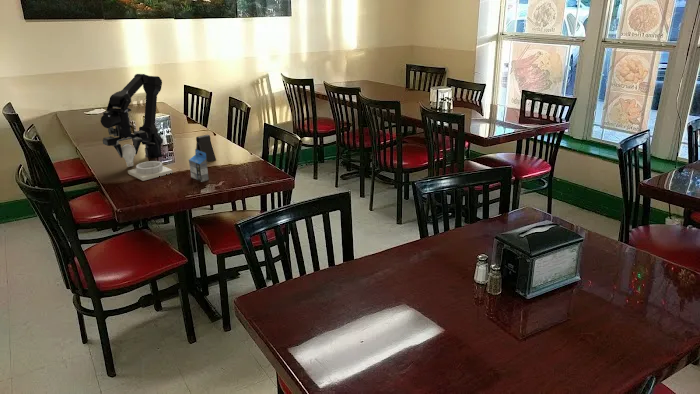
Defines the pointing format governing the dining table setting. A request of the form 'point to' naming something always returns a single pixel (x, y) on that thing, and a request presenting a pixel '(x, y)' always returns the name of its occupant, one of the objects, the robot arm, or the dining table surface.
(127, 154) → the light bulb
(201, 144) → the phone stand
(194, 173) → the retail box
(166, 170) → the socket base
